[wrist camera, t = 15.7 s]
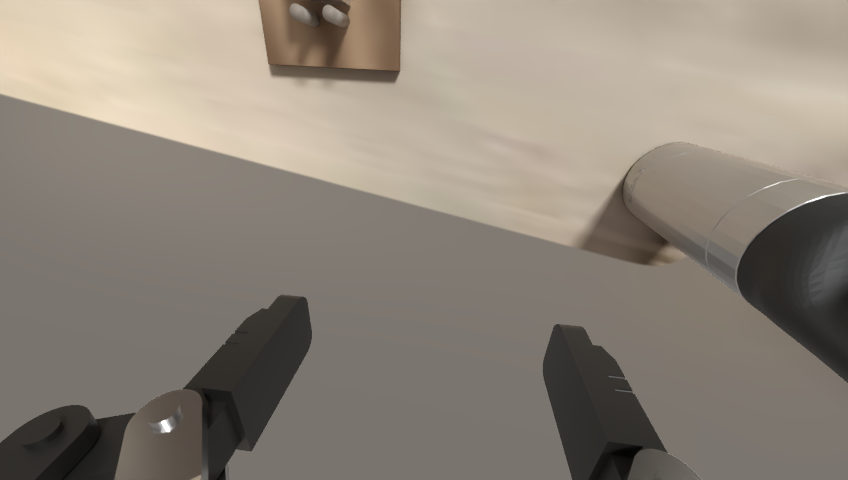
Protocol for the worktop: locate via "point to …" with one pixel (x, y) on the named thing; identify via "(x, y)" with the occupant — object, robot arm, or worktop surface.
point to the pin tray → (333, 33)
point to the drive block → (333, 2)
